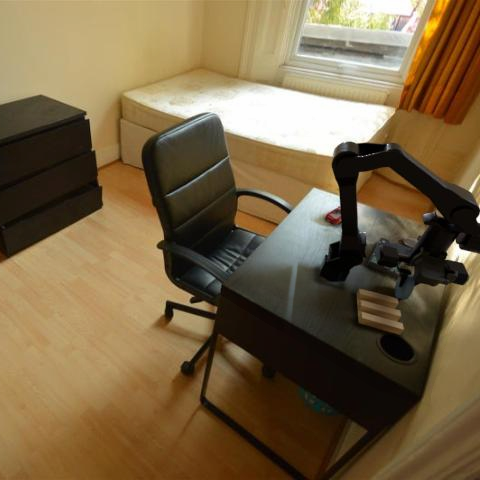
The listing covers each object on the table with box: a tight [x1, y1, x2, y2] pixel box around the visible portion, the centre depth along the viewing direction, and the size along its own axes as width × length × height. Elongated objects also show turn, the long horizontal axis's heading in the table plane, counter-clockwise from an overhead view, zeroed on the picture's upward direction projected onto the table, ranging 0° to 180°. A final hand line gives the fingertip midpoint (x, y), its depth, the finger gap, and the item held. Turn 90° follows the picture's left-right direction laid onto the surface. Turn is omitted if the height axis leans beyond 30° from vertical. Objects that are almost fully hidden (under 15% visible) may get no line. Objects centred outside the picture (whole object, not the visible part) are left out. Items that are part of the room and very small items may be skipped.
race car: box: [324, 205, 341, 226], centre depth 117 cm, size 13×5×4 cm, turn 122°
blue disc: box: [394, 274, 415, 301], centre depth 87 cm, size 7×2×7 cm, turn 158°
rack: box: [356, 288, 405, 336], centre depth 84 cm, size 9×10×3 cm
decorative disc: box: [401, 236, 418, 249], centre depth 107 cm, size 6×6×1 cm
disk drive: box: [366, 237, 411, 279], centre depth 100 cm, size 10×3×15 cm
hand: (403, 287), depth 87 cm, fingers closed on blue disc, 2 cm apart
